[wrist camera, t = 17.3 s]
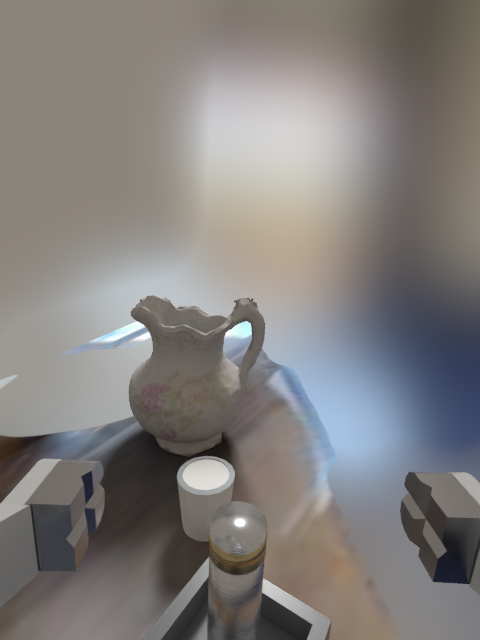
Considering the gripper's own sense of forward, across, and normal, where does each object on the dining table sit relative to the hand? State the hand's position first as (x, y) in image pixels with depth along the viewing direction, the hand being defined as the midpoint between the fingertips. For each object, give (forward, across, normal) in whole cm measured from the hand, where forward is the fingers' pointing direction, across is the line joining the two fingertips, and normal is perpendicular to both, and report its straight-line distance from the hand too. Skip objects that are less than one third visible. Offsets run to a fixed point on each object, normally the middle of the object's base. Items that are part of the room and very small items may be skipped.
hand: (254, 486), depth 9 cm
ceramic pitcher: (+46, +7, +28) cm, 54 cm away
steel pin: (+12, 0, +27) cm, 30 cm away
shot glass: (+27, +4, +28) cm, 39 cm away
